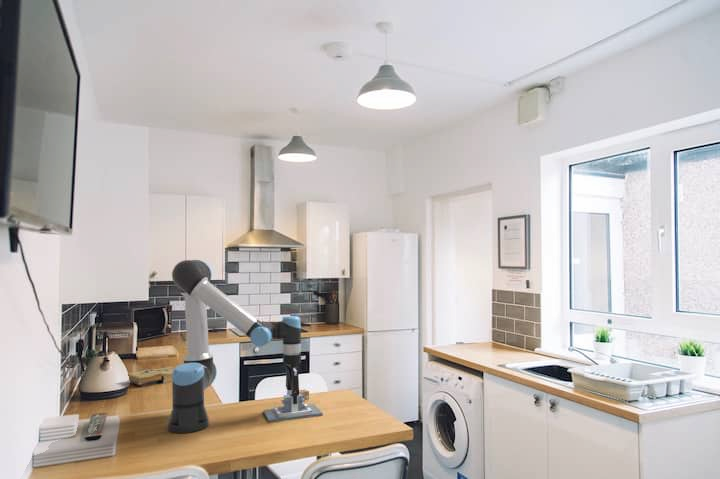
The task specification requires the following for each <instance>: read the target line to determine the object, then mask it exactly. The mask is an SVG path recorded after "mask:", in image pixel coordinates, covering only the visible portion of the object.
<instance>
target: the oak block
mask: <svg viewBox="0 0 720 479" xmlns="http://www.w3.org/2000/svg"><path fill="white" fill-rule="evenodd" d="M299 393H300V394H301V395H302V398H303V399H304V400H306V401H310V391H309V390H307V389H299Z"/></svg>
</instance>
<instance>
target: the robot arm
mask: <svg viewBox="0 0 720 479" xmlns="http://www.w3.org/2000/svg"><path fill="white" fill-rule="evenodd" d="M212 273H213V272H212V269H211V267H210V265H208V264H207V262H204V261H202V260H199V259H189V260H188V259H185V260H182V261H179V262H178V263H176V264H175V266H174V267H173V269H172V272H171V277H172V278H171V279H172V282H173V283H174V284H175V285H176V287H177V288H179V289H180V294H181V295H182V296H183V297H184V311H185V312H184V313H185V329H186V330H185V332H186V333H185V334H186V350H187V354H186V356H185V357H184V358H183V364H179V365H177V366H175V367H174V368H175V369H174V370H173V375H172V382H171V384H172V386H171V387H172V392H171V393H172V394H171V396H172V407H171V408H172V409H171V412H170V414H169V418H168V421H167V431H168V432H170V433H175V434H187V433H194V432H197V431H201V430H203V429H206V428H207V427H208V426H209V425H210V424H209V422H210V421H209V416H208V412H207V409H206V405H205V390H206V389H207V388H209V387H210V386H211V385H212V384H213V383H214V381H215V379H216V376H217V373H218V372H217V371H218V370H217V367H216V364H215V363H214V355H213V354H212V353H211V352H210V347H209V345H210V344H209V329H208V327H209V326H208V311H207V310H208V308H209V309H211V310H212V311H214V312H215V313H216V314H218V315H219V316H220V317H221V318H223V319H224V320H226V321H227V322H228V323H230V325H232V326H234V328H236V329H238V331H240V332H241V333H242V334H243V335H245V336H247V337H248V338H249V339H250V342H251V343H252V345H254V346H256V347H259V348H260V347H265V346H267V345H268V344H270V342H271V341H272V340H273V341H274V340H282V354H283V355H282V363H283V364H284V365H285V388H286V395H290V396H291V412H296V411H298V395H299V390H300V383H299V381H300V380H299V375H300V374H299V372H300V371H299V369H298V367H297V365H298V364H300V363H302V353H301V352H302V347H303V345H302V344H301V343H302V341H301V340H302V325H301V318H300V316H297V315H286V316H282V320H281V321H264V320H263V321H260V320H259V318H257V317H255V316H254V315H253V314H252V313H250V312H249V311H248V310H246V309H245V308H244V307H243V306H241V305H240V304H238V303H237V302H236V301H234V300H233V299H232V298H230V297H229V296H228V295H227V294H225V293H224V292H223V291H221V290H220V289H219V288H218V287H217V286H215V285H213V284H212V283H211V282H210V281H211V279H212ZM207 307H208V308H207ZM291 394H292V395H291Z"/></svg>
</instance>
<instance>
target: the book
mask: <svg viewBox="0 0 720 479" xmlns="http://www.w3.org/2000/svg"><path fill="white" fill-rule="evenodd" d="M175 368H176V367H173V366H172V365H169V366H166V367H162V368H153V369H144V370H141V371H138V372H137V371H136V372H133V371H132V372H130V373H128V374H127V375H128V376H129V380H130V381H129V380H128V381H129V382H132V383H133V384H134V385H137V386H139V387H141V388H143V387H149V386H154V385H159V384H160V385H163V384H169V383H172V375H173V370H174V369H175Z"/></svg>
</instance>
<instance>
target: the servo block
mask: <svg viewBox="0 0 720 479" xmlns="http://www.w3.org/2000/svg"><path fill="white" fill-rule="evenodd" d="M291 395H292V394H291ZM280 402H281V404H282V405H283V406H284V412H285V413H288V412H291V396H290V395H287V394H285V395H283V399H281V401H280ZM302 403H306V401H305V400H304V399H303V398H302V395H301V394H300V393H299V395H298V411H303V407H302Z"/></svg>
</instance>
